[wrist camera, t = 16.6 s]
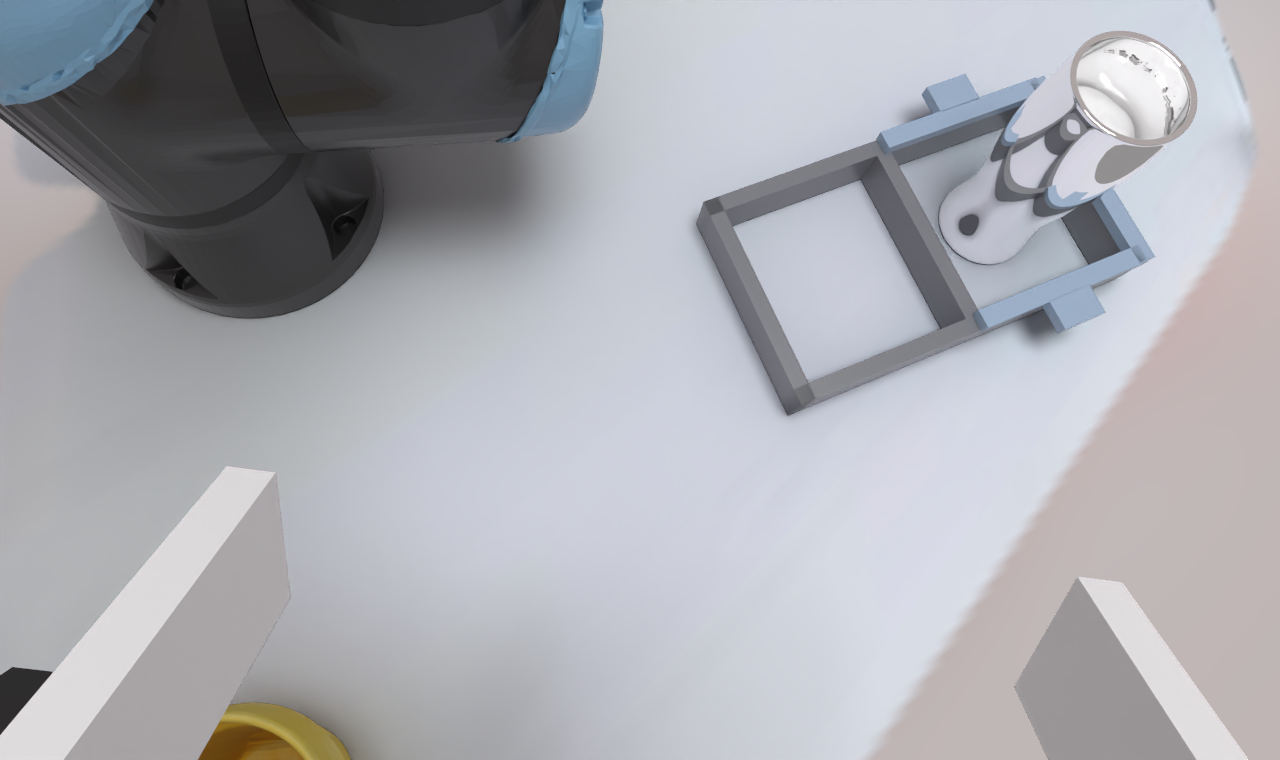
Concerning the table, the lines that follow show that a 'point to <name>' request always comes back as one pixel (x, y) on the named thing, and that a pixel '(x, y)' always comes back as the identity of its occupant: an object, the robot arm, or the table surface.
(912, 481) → the table surface
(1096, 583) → the robot arm
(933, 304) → the open frame
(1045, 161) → the drinking glass
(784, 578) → the table surface
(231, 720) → the yellow bowl
